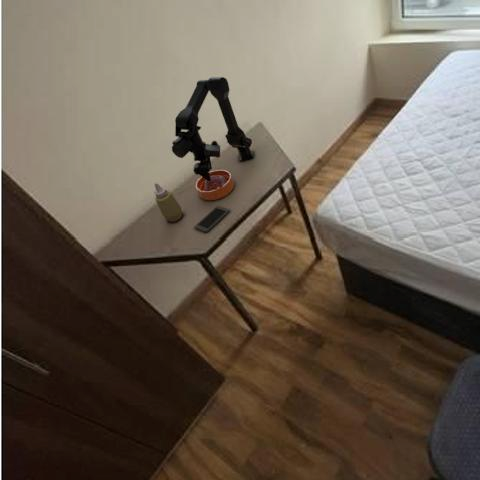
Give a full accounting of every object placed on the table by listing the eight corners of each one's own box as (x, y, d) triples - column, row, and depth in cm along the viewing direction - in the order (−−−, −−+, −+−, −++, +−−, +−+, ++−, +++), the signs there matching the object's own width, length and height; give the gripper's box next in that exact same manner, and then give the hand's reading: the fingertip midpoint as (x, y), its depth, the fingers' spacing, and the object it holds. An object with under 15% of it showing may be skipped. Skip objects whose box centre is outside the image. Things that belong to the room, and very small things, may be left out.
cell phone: (194, 228, 161) (193, 226, 161) (217, 207, 169) (217, 205, 168) (206, 233, 158) (206, 231, 157) (230, 211, 165) (229, 209, 165)
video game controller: (229, 189, 179) (226, 173, 177) (225, 191, 175) (221, 175, 173) (208, 191, 181) (205, 175, 179) (204, 193, 177) (201, 177, 175)
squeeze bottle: (168, 226, 166) (147, 192, 153) (164, 216, 171) (144, 183, 159) (186, 218, 168) (167, 184, 155) (182, 208, 173) (163, 175, 161)
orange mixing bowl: (201, 183, 185) (197, 175, 181) (234, 175, 184) (230, 166, 181) (199, 204, 173) (194, 195, 170) (234, 195, 173) (230, 186, 169)
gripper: (214, 150, 155) (227, 182, 166) (216, 128, 169) (228, 159, 180) (186, 157, 156) (202, 189, 166) (190, 134, 169) (204, 165, 180)
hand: (210, 175), depth 173 cm, fingers open, 9 cm apart
